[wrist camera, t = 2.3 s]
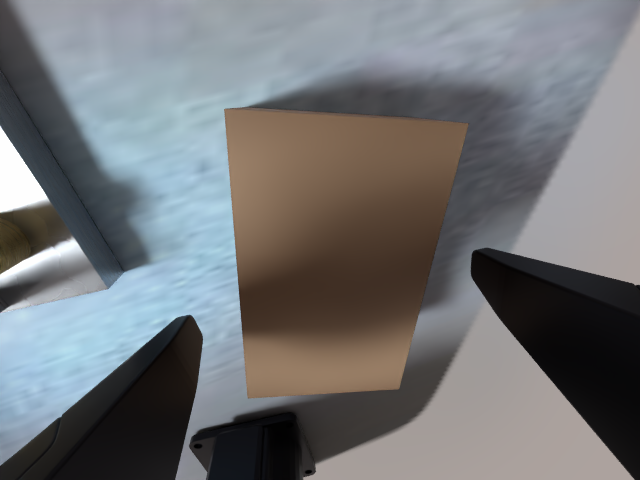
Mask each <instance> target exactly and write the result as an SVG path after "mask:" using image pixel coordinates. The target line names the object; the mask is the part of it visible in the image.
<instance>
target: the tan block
mask: <svg viewBox="0 0 640 480" xmlns="http://www.w3.org/2000/svg"><path fill="white" fill-rule="evenodd" d="M224 111H225V124H226V136H227V149H228V161H229V173H230V186H231V198H232V210H233V223H234V235H235V247H236V260H237V272H238V285H239V297H240V309H241V322H242V334H243V346H244V359H245V371H246V383H247V396H248V398H262V397H278V396H295V395H311V394H328V393H344V392H360V391H377V390H393V389H399V387H400V383H401V379H402V375H403V372H404V368H405V364H406V360H407V356H408V353H409V349H410V345H411V341H412V337H413V334H414V330H415V326H416V322H417V318H418V315H419V311H420V307H421V303H422V299H423V296H424V292H425V288H426V284H427V280H428V277H429V273H430V269H431V265H432V261H433V258H434V254H435V250H436V246H437V242H438V239H439V235H440V231H441V227H442V224H443V220H444V216H445V212H446V208H447V205H448V201H449V197H450V193H451V189H452V186H453V182H454V178H455V174H456V170H457V167H458V163H459V159H460V155H461V151H462V148H463V144H464V140H465V136H466V132H467V129H468V125H469V123H460V122H450V121H441V120H432V119H422V118H413V117H398V116H382V115H365V114H349V113H332V112H316V111H299V110H283V109H266V108H250V107H242V108H230V109H224Z"/></svg>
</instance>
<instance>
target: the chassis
mask: <svg viewBox="0 0 640 480" xmlns="http://www.w3.org/2000/svg"><path fill="white" fill-rule="evenodd" d="M123 273H124V271H123V270H122V268H121V266H120V265H119V263H118V261H117V260H116V258H115V256H114V255H113V253H112V252H111V250H110V248H109V247H108V245H107V243H106V242H105V240H104V238H103V237H102V235H101V234H100V232H99V230H98V229H97V227H96V225H95V224H94V222H93V220H92V219H91V217H90V216H89V214H88V212H87V211H86V209H85V207H84V206H83V204H82V202H81V201H80V199H79V198H78V196H77V194H76V193H75V191H74V189H73V188H72V186H71V184H70V183H69V181H68V180H67V178H66V176H65V175H64V173H63V171H62V170H61V168H60V166H59V165H58V163H57V161H56V160H55V158H54V157H53V155H52V153H51V152H50V150H49V148H48V147H47V145H46V143H45V142H44V140H43V139H42V137H41V135H40V134H39V132H38V130H37V129H36V127H35V125H34V124H33V122H32V121H31V119H30V117H29V116H28V114H27V112H26V111H25V109H24V107H23V106H22V104H21V103H20V101H19V99H18V98H17V96H16V94H15V93H14V91H13V89H12V88H11V86H10V85H9V83H8V81H7V80H6V78H5V76H4V75H3V73H2V71H1V70H0V313H3V312H8V311H12V310H17V309H21V308H26V307H30V306H35V305H39V304H44V303H48V302H53V301H57V300H62V299H66V298H70V297H75V296H79V295H84V294H88V293H93V292H97V291H102V290H106V289H109V288H110V287H111V286H112V284H113V283H114V282H115V281H116V280H117V279H118V278H119V277H120V276H121V275H122V274H123Z"/></svg>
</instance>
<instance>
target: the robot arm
mask: <svg viewBox="0 0 640 480" xmlns="http://www.w3.org/2000/svg"><path fill="white" fill-rule="evenodd" d="M471 276H472V279H473V281H474V282H475V284H476V285H477V287H478V288H479V289H480V291H481V292H482V294H483V295H484V297H485V298H486V300H487V301H488V303H489V304H490V306H491V307H492V309H493V310H494V312H495V313H496V314H497V316H498V317H499V319H500V320H501V321H502V322H503V324H504V325H505V326H506V327H507V328H508V330H509V331H510V332H511V333H512V334H513V335H514V337H515V338H516V339H517V340H518V341H519V343H520V344H521V345H522V346H523V347H524V349H525V350H526V351H527V352H528V353H529V355H530V356H531V357H532V358H533V359H534V361H535V362H536V363H537V364H538V365H539V366H540V368H541V369H542V370H543V371H544V372H545V374H546V375H547V376H548V377H549V378H550V380H551V381H552V382H553V383H554V384H555V385H556V387H557V388H558V389H559V390H560V391H561V393H562V394H563V395H564V396H565V397H566V399H567V400H568V401H569V402H570V403H571V405H572V406H573V407H574V408H575V409H576V411H577V412H578V413H579V414H580V415H581V416H582V418H583V419H584V420H585V421H586V422H587V424H588V425H589V426H590V427H591V428H592V430H593V431H594V432H595V433H596V434H597V436H598V437H599V438H600V439H601V440H602V441H603V443H604V444H605V445H606V446H607V447H608V448H609V450H610V451H611V452H612V453H613V455H614V456H615V457H616V458H617V459H618V460H619V462H620V463H621V464H622V465H623V466H624V468H625V469H626V470H627V471H628V472H629V473H630V475H631V476H632V477H633V478H634V479H635V480H640V285H636V286H635V285H634V284H632V283H629V282H625V281H620V280H616V279H612V278H608V277H604V276H600V275H596V274H592V273H588V272H584V271H579V270H576V269H572V268H568V267H563V266H559V265H555V264H551V263H547V262H543V261H539V260H535V259H531V258H527V257H523V256H519V255H515V254H511V253H507V252H503V251H499V250H495V249H491V248H482V249H478V250H474V251H473V252H472V258H471ZM202 344H203V336H202V333H201V331H200V329H199V327H198V325H197V323H196V321H195V319H194V318H193V317H192V316H191V315H186V316H181V317H177V318H176V319H175V320H173V321H172V322H171V323H170V324H169V325H167V326H166V327H165V328H164V329H163V330H162V331H160V332H159V333H158V334H157V335H156V336H154V337H153V338H152V339H151V340H150V341H149V342H147V343H146V344H145V345H144V346H143V347H141V348H140V349H139V350H138V351H137V352H136V353H134V354H133V355H132V356H131V357H130V358H128V359H127V360H126V361H125V362H124V363H123V364H121V365H120V366H119V367H118V368H117V369H115V370H114V371H113V372H112V373H111V374H110V375H108V376H107V377H106V378H105V379H104V380H102V381H101V382H100V383H99V384H98V385H97V386H95V387H94V388H93V389H92V390H91V391H89V392H88V393H87V394H86V395H85V396H84V397H82V398H81V399H80V400H79V401H78V402H77V403H75V404H74V405H73V406H72V407H71V408H69V409H68V410H67V411H66V412H65V413H64V414H62V417H59V418H57V419H56V420H55V421H54V422H53V423H52V424H50V425H49V426H48V427H47V428H46V429H45V430H43V431H42V432H41V433H40V434H39V435H37V436H36V437H35V438H34V439H33V440H31V441H30V442H29V443H28V444H26V445H25V446H24V447H23V448H22V449H20V450H19V451H18V452H17V453H16V454H14V455H13V456H12V457H11V458H9V459H8V460H7V461H6V462H4V463H3V464H2V465H1V466H0V480H175V478H176V474H177V470H178V465H179V461H180V457H181V453H182V449H183V444H184V440H185V436H186V432H187V428H188V423H189V419H190V415H191V411H192V406H193V402H194V398H195V394H196V389H197V383H198V376H199V368H200V360H201V352H202ZM189 447H190V449H191V450H192V452H193V453H194V455H195V456H196V457H197V459H198V460H199V461H200V463H201V464H202V465H203V467H204V468H205V470H206V471H207V472H208V473H207V477H206V480H303V477H306V476H310V475H313V474H314V473H315V472H316V470H315V469H316V468H315V462H314V459H313V457H312V454H311V451H310V449H309V446H308V444H307V441H306V438H305V436H304V433H303V431H302V428H301V425H300V423H299V420H298V417H297V416H296V415H295V414H293V413H287V414H282V415H278V416H274V417H269V418H265V419H261V420H256V421H252V422H248V423H243V424H239V425H235V426H230V427H226V428H222V429H217V430H213V431H209V432H204V433H200V434H196V435H194V436H192V438H191V441H190V445H189Z"/></svg>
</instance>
